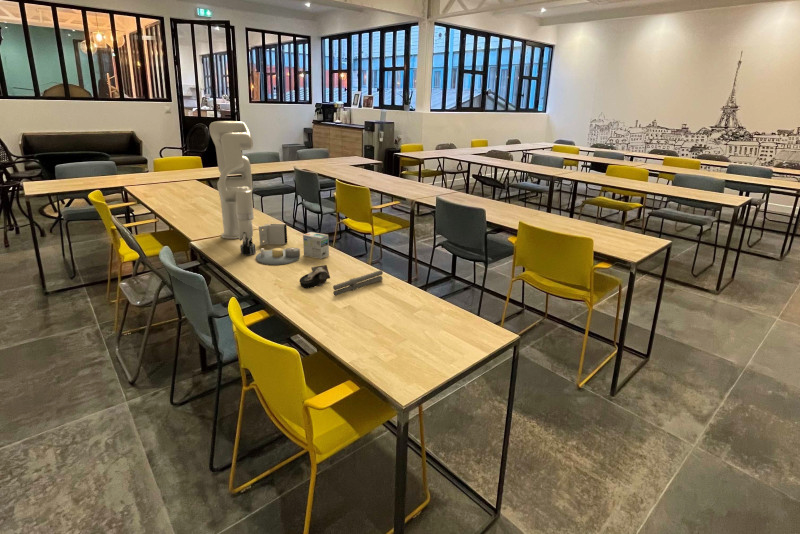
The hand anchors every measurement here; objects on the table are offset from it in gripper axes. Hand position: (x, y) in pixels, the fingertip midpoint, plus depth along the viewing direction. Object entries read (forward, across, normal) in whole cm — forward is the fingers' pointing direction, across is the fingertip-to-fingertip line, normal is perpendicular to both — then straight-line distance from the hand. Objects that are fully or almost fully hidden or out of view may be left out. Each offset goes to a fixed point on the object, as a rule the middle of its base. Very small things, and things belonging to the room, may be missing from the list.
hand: (248, 251), depth 224 cm
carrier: (+1, +7, +15) cm, 17 cm away
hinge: (+1, -15, +10) cm, 18 cm away
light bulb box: (+1, +4, +33) cm, 33 cm away
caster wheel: (+1, +41, +34) cm, 53 cm away
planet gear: (+1, 0, 0) cm, 1 cm away
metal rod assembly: (+1, +45, +52) cm, 69 cm away
